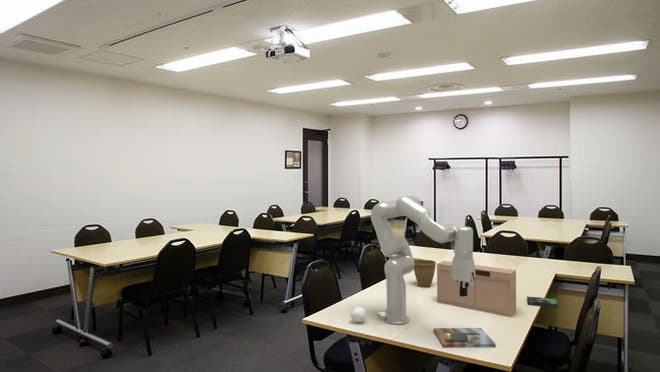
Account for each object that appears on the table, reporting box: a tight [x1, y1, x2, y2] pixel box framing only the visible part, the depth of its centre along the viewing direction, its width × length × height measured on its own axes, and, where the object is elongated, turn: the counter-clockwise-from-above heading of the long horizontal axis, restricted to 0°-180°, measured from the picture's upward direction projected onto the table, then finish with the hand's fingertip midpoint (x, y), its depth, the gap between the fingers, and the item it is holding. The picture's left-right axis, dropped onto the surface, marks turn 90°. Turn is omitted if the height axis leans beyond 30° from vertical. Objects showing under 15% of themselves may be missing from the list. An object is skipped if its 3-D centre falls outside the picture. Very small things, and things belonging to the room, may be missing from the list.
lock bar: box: [445, 332, 480, 342], centre depth 178 cm, size 14×3×3 cm, turn 88°
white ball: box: [350, 306, 368, 324], centre depth 207 cm, size 8×8×8 cm
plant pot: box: [413, 259, 437, 289], centre depth 271 cm, size 15×15×16 cm
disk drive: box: [526, 295, 559, 309], centre depth 232 cm, size 10×3×15 cm
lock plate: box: [432, 327, 496, 348], centre depth 184 cm, size 22×18×4 cm
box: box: [436, 260, 517, 318], centre depth 227 cm, size 10×40×22 cm, turn 50°
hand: (463, 295), depth 184 cm, fingers closed
